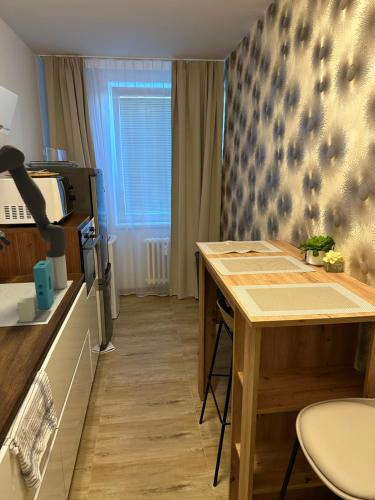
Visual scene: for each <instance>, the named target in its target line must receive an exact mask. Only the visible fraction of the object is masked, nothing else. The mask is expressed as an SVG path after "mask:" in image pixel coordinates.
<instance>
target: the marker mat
mask: <svg viewBox="0 0 375 500" xmlns="http://www.w3.org/2000/svg"><path fill="white" fill-rule="evenodd" d="M52 312H53V310H51V309H48V310H37V311H36V310H35V315H36V316H35V318H34V319H33V321H28V322H19V319H18V320H17V322H16V324H24V323H42V322H47V320H48V318H49V317H50V315H51V314H52Z"/></svg>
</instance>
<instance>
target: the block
mask: <svg viewBox="0 0 375 500" xmlns="http://www.w3.org/2000/svg"><path fill="white" fill-rule="evenodd" d="M32 270H33V280H34V288H35V297H36V303H37V307H38V311H45V310H51V308H52V307H53V305H54V303H55V302H54V301H55V299H54V294H55V291H54V289H53V279H52V269H51V261H47V260H40V261H38V263H36V264H35V265H34V266H33V267H32Z"/></svg>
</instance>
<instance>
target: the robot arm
mask: <svg viewBox="0 0 375 500" xmlns="http://www.w3.org/2000/svg"><path fill="white" fill-rule="evenodd" d="M25 160H26V157H25V153H24V152H23V151H22V150H21V149H19V148H18V147H17V146H14V145H11V144H5V145H3V146H1V147H0V174H3V173H5V172H8V174H9V175H10V176H11V178H12V180H13V182H14V185H15V187H16V189H17V192H18V193H19V195H20V197H21V200H22V201H23V203H24V205H25V206H26V208H27V210H28V212H29V214H30V216H31V217H32V219H33V221H34V224H35V225H36V226H35V227H36V228H37V230H38V232H39V236H40V237H41V239H42V241H44V242H46V243H50V248H49V249H47V250H45V258H46V260H45V261H51V269H52V279H53V290H62V289H65V288H67V287H68V276H67V264H66V263H67V262H66V253H65V252H66V249H67V240H66V231H65V228H64V227H62V226H61V225H55V224H52V222H51V221H50V219H49V217H48V215H47V209H46V208H47V203H46V199H45V197H44V195H43V193H42V191H41V189H40V187H39V185H38V184H37V182H36V181H35V180H34V179H33V177H32V176H31V175H30V174H29V172H28V170H27V168H26V166H25ZM0 241H1V243H0V251H3V249H4V248H5V246H7V247H9V246H11V245H12V242H11V240H9V239H8V238H6V233H4V231H2V230H1V229H0ZM2 243H3V244H2ZM4 245H5V246H4Z"/></svg>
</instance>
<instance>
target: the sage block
mask: <svg viewBox="0 0 375 500" xmlns="http://www.w3.org/2000/svg"><path fill="white" fill-rule="evenodd" d="M16 303H17V312H18V320H19V322H28V321H33V319H34V318H35V316H36V315H35V311H36V309H35V299H34V297H21V298H20V299H19V300H18V301H17V302H16ZM28 323H29V322H28Z"/></svg>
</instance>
